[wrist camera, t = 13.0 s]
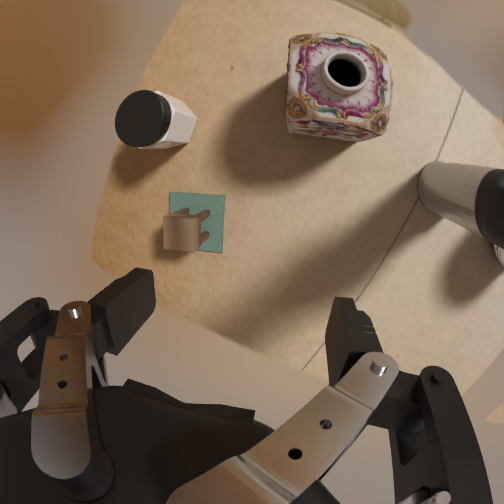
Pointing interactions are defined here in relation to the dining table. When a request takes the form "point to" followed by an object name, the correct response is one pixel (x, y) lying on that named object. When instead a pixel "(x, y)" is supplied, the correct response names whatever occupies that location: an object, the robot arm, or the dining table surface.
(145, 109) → the jar
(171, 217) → the pronged tan cube
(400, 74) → the dining table surface
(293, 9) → the dining table surface
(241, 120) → the dining table surface
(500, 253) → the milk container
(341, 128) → the decorative jar
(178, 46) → the dining table surface
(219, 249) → the mat
